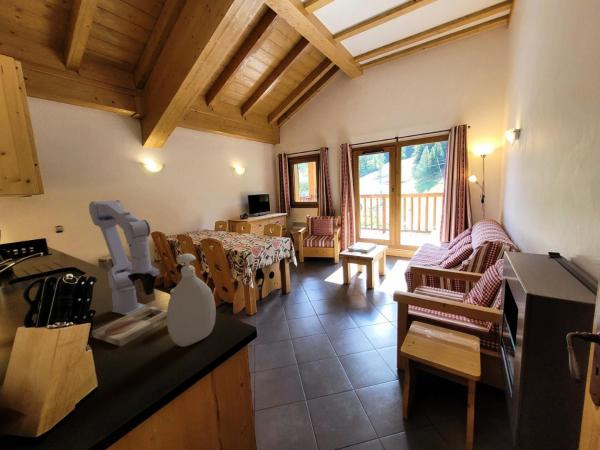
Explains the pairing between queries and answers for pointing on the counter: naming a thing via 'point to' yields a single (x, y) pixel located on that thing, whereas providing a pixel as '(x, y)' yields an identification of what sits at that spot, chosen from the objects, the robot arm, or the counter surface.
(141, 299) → the walnut block
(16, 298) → the counter surface
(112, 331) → the holder board
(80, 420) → the counter surface
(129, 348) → the counter surface
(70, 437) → the counter surface
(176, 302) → the soap bottle
